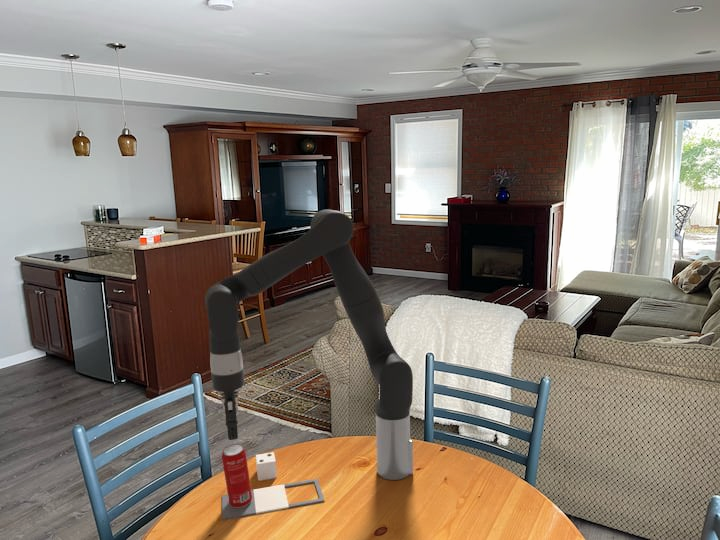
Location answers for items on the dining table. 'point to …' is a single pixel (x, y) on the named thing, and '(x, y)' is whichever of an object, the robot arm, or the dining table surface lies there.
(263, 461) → the die
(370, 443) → the dining table surface
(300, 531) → the dining table surface
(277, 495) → the grey frame tray
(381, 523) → the dining table surface
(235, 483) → the beverage can
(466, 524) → the dining table surface
